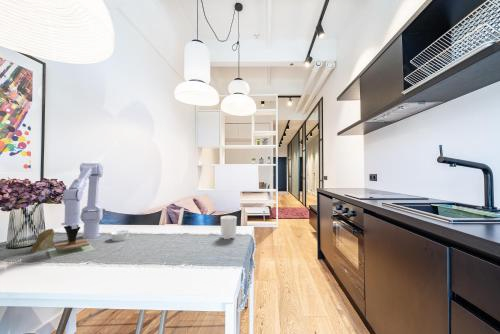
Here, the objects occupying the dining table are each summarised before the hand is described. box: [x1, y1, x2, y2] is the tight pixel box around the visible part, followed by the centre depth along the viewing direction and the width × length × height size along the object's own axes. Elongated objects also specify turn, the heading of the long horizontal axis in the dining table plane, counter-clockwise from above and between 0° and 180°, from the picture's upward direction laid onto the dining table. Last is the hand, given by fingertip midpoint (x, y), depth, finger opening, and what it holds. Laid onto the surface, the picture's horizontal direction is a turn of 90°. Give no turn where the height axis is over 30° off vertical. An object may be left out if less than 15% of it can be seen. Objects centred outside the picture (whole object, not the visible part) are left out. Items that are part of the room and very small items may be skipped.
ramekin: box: [110, 229, 130, 242], centre depth 123 cm, size 9×9×4 cm
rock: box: [29, 228, 55, 254], centre depth 106 cm, size 11×9×10 cm
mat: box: [47, 243, 95, 260], centre depth 106 cm, size 16×16×1 cm
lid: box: [53, 237, 90, 252], centre depth 106 cm, size 12×12×5 cm
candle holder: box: [220, 215, 238, 240], centre depth 129 cm, size 10×10×12 cm
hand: (71, 240), depth 106 cm, fingers closed on lid, 3 cm apart
